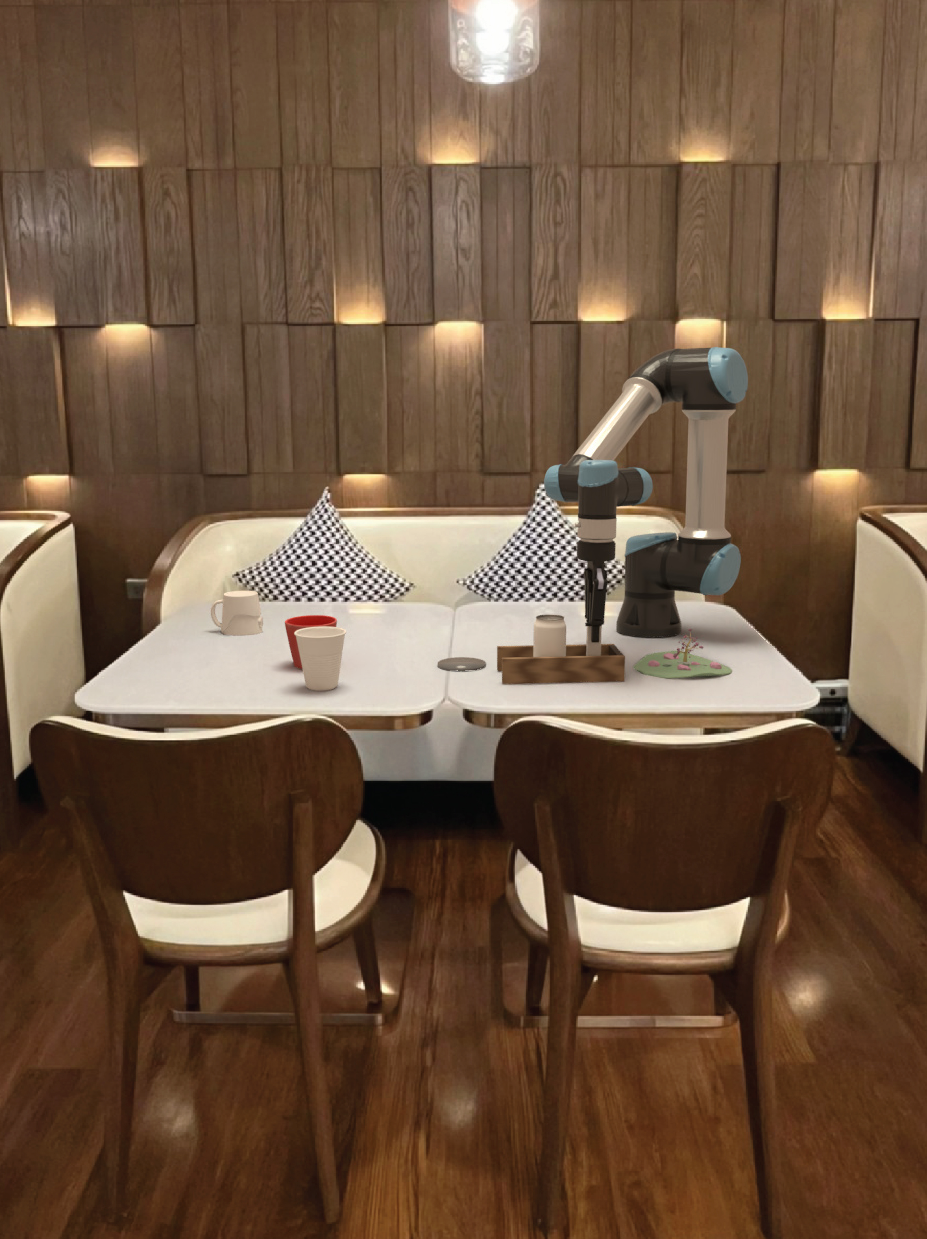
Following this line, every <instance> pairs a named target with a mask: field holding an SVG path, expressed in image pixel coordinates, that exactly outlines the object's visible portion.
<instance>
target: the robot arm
mask: <svg viewBox="0 0 927 1239" xmlns="http://www.w3.org/2000/svg"><path fill="white" fill-rule="evenodd" d="M748 385H749V376H748V370H747V366H746V363H745V360H744V359H743V358H742V355H741V353H739V352H738V351H737V350H735V349H734V348H730V347H719V346H713V347H695V348H670V349H667V350H664V351H662V352H660V353H658V354H656V355H654V356H652V357H650V358H649V359H648V360H646V361H644V363H642V364H641V365H640V366H639V367H638V368H636V369H635V370H634V371H633V373H631V375H630V376H628V377H627V379H626V381H625V382H624V383H623V385H622V389H621V392H622V393H621V395H619V397H618V398H617V399H616V400H615V402H614V403H613V404H612V405H611V407H610V408H609V410H608V411H607V412H606V413H605V414H604V416H603V417H602V418H601V420H599V422H598V423H597V425H596V426H595V427H594V428H593V429H592V431H591V432H590V434H589V435H588V436H587V437H586V439H584V440H583V442H582V443H581V444H580V446H579V447H578V449H576V451H575V453H573V455H572V456H571V458H570V459H569V460H568V461H567V463H566V464H562V463H560V464H555V465H552V466H550V467H549V468H548V469H547V471H546V473H545V474H544V475H545V476H544V478H543V488H544V491H545V494H546V495H547V497H548V498H550V500H553V501H558V502H564V503H578V505H577V506H578V507H577V510H578V512H577V521H578V522H575V523H574V527H575V528H577V537H578V539H579V540H578V541H577V542H576V558H577V559H578V560H580V561H584V562H586V568H585V567H584V570H583V578H584V619H586V622H585V623H584V626H585V627H586V656H601V644H602V631H603V630H602V629H603V628H602V626H603V625H605V614H606V613H605V611H606V597H607V589H608V584H609V580H608V570H607V569H605V562H612V561H614V560H615V558H616V546H617V545H616V544H617V542H615V540H614V539H616V538H617V519H618V518H617V508H620V507H627V506H629V507H630V506H632V507H634V506H637V505H640V504H643V503H645V502H646V501H648V499H649V498H650V497H651V495H652V493H653V487H654V485H653V480H652V476H651V475H650V473H649V472H647V471H646V470H645V469H644V468H642V467H635V466H632V467H631V466H629V467H626V468H625V467H619V466H618V463H617V461H615V459H616V458H617V457H618V455H619V454H620V453H621V452H622V451H623V449H624V448H625V446H626V445H627V444H628V443H629V441H630V440H631V439H632V438H633V436H634V435H635V434H636V432H637V431H638V430H639V428H640V427H641V426H642V424H644V422H645V421H646V419H647V418H648V416H650V415H651V414H654V413H656V412H658V411H659V410H660V409H661V407H662V406H663V405H665V404H669V403H681V412H682V413H683V414H684V415H685V416H686V417H687V419H688V422H687V423H688V426H687V428H688V429H687V455H686V456H687V459H686V463H687V464H686V490H685V491H686V496H685V526H684V528H682V529H681V531H680V532H679V533H678V535H677V533H676V532H671V531H668V532H667V531H665V532H654V533H643V534H638V535H633V536H631V537H628V539H627V540H626V544H625V551H624V552H625V553H624V599H623V602H622V604H621V607H620V610H619V612H618V616H617V619H616V625H615V626H616V629H615V630H616V632H618V633H619V634H621V635H625V636H631V637H639V638H665V637H666V638H668V637H673V636H677V635H680V634H681V633H682V620H681V617H680V614H679V610H678V606H677V603H676V601H675V600H676V599H675V598H676V595H675V594H676V593H675V592H684V593H685V592H686V593H692V594H699V595H700V594H701V595H703V596H709V595H710V596H722V595H724V594H726V593H727V592H729V591H730V590H731V588H733V586H734V584H735V582H736V580H737V579H738V576H739V572H740V569H741V568H740V567H741V561H742V557H741V553H740V549H739V547H738V546H736V545H735V544H733V543H732V535H731V533H730V532H729V531H728V530H727V529H726V527H725V519H726V518H725V516H726V494H727V492H726V491H727V470H728V468H727V467H728V445H729V444H728V443H729V442H728V438H729V436H728V435H729V419H730V417H731V416H733V414H735V413H736V411H737V404H738V403H740V402H742V401H743V400H744V399H745V397H746V392H748V387H749V386H748Z"/></svg>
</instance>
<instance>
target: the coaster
mask: <svg viewBox="0 0 927 1239" xmlns="http://www.w3.org/2000/svg"><path fill="white" fill-rule="evenodd" d="M486 665H487V664H486V661H485V660H483V659H481V658H476V657H467V656H466V657H464V656H460V657H459V656H458V657H447V658H444V659H441V660H439V661H437V668H438V669H440V670H442V671H443V670H444V671H449V672H451V671H450V670H458V671H457V672H460V671H462V672H466V671H465V670H475V671H478V670H477V669H480V668H482V669H484V668H486ZM480 670H481V669H480Z"/></svg>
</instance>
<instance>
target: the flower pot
mask: <svg viewBox="0 0 927 1239" xmlns="http://www.w3.org/2000/svg"><path fill="white" fill-rule="evenodd" d="M337 623H338V620H337V618H336V617H334V616H331V615H323V614H319V615H318V614H315V615H314V614H313V615H312V614H311V615H300V616H299V615H298V616H294V617H290V618H287V619H285V621H284V628H285V632H286V636H287V641H288V645H289V646H288V647H289V649H290V654H291V658H292V662H293V663H292V664H293V666H294V667H295V668H296V669H300V670H303V668H302V663H301V658H300V653H299V649H298V644H297V639H296V636H295V635H294V632H295V631H297V630H299V629H303V628H309V627H337Z"/></svg>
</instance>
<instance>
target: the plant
mask: <svg viewBox="0 0 927 1239" xmlns="http://www.w3.org/2000/svg"><path fill="white" fill-rule="evenodd" d="M687 631H688V632H689V636H688V635H684V636H683V637H682V638H681V641H683V642H681V641H680V640H679V641H678V644H680V643H681V648H679V647H677V648H676V650H668V651H661V652H658V651H657V652H654V653H648V654H646V655H645V656H644V657H643V658H641V659H640V660H639V661H637V663H635V664H634V665H633V669H634V670H635V671H636V672H637V673H639V674H642V675H645V676H649V677H654V678H658V679H659V678H660V679H666V680H667V679H685V678H687V679H688V678H702V677H703V678H704V677H714V676H715V677H717V676H726V675H730V674H732V672H733V669H732V668H731V667H729V666H727V665H724V664H721V663H719V662H717V661H714V660H711V659H708V658H704V657H702V656H698V655H695V654H692V653H691V652H692V651H694V649H702V650H703V649H704V646H703V645H700V643H699V642H696V641H697V639H698V637H692V633H691V631H692V628H688V630H687ZM687 638H689V640H688V639H687ZM684 639H685V641H684ZM687 640H688V642H687V643H686V641H687ZM690 644H694V645H690ZM683 650H684V651H683Z"/></svg>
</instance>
